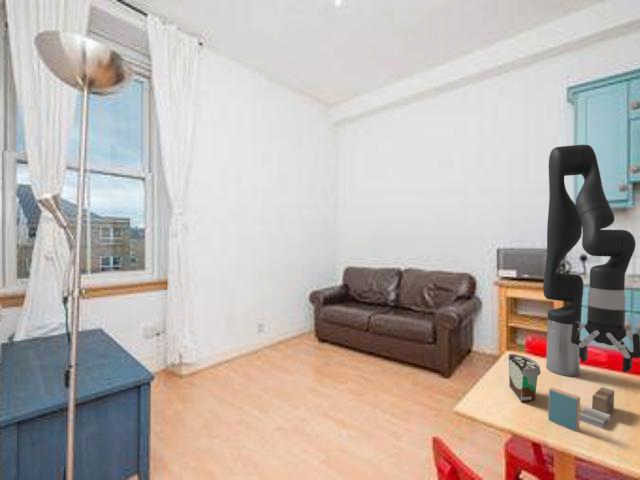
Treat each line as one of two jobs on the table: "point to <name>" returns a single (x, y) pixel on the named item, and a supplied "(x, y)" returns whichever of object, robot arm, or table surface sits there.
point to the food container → (523, 377)
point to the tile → (564, 408)
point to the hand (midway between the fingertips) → (604, 366)
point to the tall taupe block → (599, 408)
